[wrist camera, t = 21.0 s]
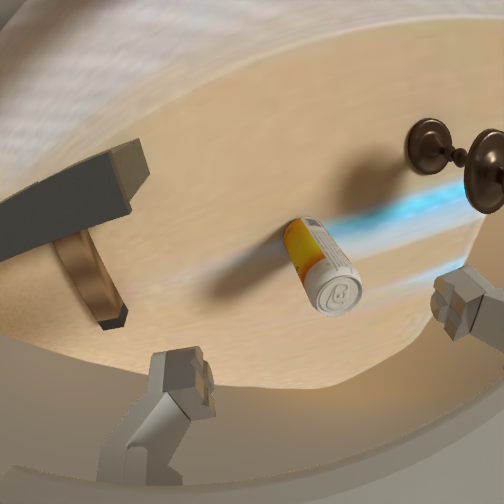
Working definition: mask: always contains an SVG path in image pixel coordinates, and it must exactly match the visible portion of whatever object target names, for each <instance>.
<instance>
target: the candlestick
mask: <svg viewBox="0 0 504 504" xmlns="http://www.w3.org/2000/svg"><path fill="white" fill-rule="evenodd" d="M408 153H409V157H410V160H411V162H412V164H413V165H414V167H415V168H416V169H418V170H419V171H421V172H423V173H425V174H430V175H432V174H436V173H438V172H440V171H441V170H443V168H444V167H445V166H446V165H447V163H448V161H449V162H452V161H453V162H454V163H455V165H456V166H457V167H459V168H462V167H464V166H465V169H464V189H465V193H466V197H467V199H468V201H469V203H470V204H471V206H472V207H473V208H475V209H476V210H478V211H479V212H481V213H483V214H491V213H493V212H495V211H497V210H498V209H500V207H502V206H503V204H504V132H502V131H499V130H496V129H487V130H484V131H483V132H481V133H480V134H479V135H478V136H477V137H476V139H475V140H474V142H473V144H472V145H471V147H470V150H469V152H468V154H467V152H466V150H465V149H463V148H458V149H456V150H455V148H454V147H453V146H452V139H451V135H450V132H449V130H448V128H447V127H446V126H445V124H443V123H442V122H441V121H439V120H437V119H432V118H425V119H422V120H420V121H419V122H417V124H416V125H415V126H414V127H413V129H412V130H411V133H410V135H409V140H408Z"/></svg>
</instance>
